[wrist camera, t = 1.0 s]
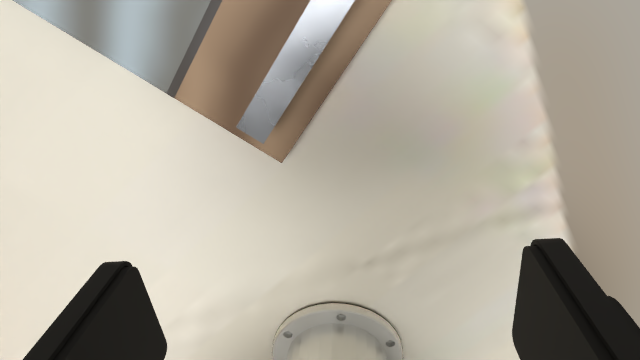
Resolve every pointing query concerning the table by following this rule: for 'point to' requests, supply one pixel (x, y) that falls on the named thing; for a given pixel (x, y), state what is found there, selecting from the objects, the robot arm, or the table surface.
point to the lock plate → (214, 51)
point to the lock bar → (292, 66)
